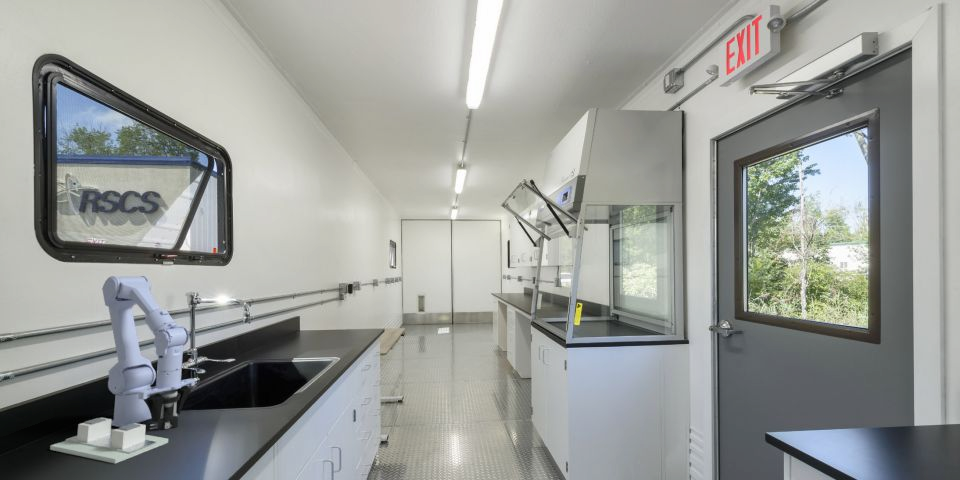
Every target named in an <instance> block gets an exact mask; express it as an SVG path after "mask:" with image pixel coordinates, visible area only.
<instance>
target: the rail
mask: <svg viewBox="0 0 960 480" xmlns="http://www.w3.org/2000/svg"><path fill="white" fill-rule="evenodd" d="M65 441H69V442H74V443H79V444H84V445H89V446H94V447H99V448H104V449H109V450H114V451H119V452H124V453H129V454H130V453H133V452H135V451H138V450H141V449H143V448H146V447H148V446H151V445H154V444H156V442H154V441H149V440H145V441H143V442H140V443H138V444H135V445H132V446H129V447H127V448H124V449H119V448H114V447H111V445H112V434H111V433H110V435H107V436H104V437H101V438H98V439H95V440H92V441H89V442H84V441H79V440H77V435H75V436H72V437H69V438H66V439H65Z"/></svg>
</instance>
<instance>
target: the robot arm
mask: <svg viewBox="0 0 960 480" xmlns="http://www.w3.org/2000/svg"><path fill="white" fill-rule="evenodd" d="M151 289H152V282H151V281H150V280H149V278H148V277H147V276H144V275H139V276H113V275H112V276H111V275H110V276H109V277H107V279H106V280H105V282H104V283H103V285H102V288H101V290H102V295H103V301H104V306H106V307H108V312H109V318H110V322H111V324H110V325H111V328H112V329H111V330H112V334H113V339H114V345H115V349H116V350H115V351H116V356H117V360H118V362H117V363H115V364H114V365H113V366H112V367H111V368H110V369H109V370H108V381H107V388H108V390H109V391H110V392H111V393H112V395H115V396H114V397H115V399H114V409H113V411H114V412H113V419H112V420H111V427H112V426H113V427H118V428H120V427H123V426H126V425H129V424H134V423H137V424H140V423H142V422H145V421H147V420H151V421H152V422H158V421H160V418H161V409H162V405H163V401H164V399H165V397H161V395H162V394H163V393H166V392H170V391H173V390H176V391H177V393H180V394H181V396H180V399H179V400H178V401H177V405H176V414H177V415H178V416H179V415H180V414H181V412H182V409H183V406H184V403H185V401H186V400H187V398H188V396H189V395H190V393H191V390H192V388H191V387H194V386H195V385H196V379H195V378H187V379H186V378H185V379H182V367H183V354H184V346H186V345H187V343H188V342H189V340H190V339H189V338H190V333H189V331H188V329H187V328H186V327H185V326H181V325H180V324H177V323H176V321H175V320H174V319H173V318H172V316H171V315H170V313H169V311H168V310H166V309H165V308H164V309H162V308H160V307H159V305H158V303H157V301H156V300H155V298H154V296H153V294H152V292H151V291H152V290H151ZM135 305H136V306H138V307H139V308H140V310H141V311H143V314H145V315H146V316H145V319H144V323H146V325H147V327H148V328H149V329H150V331H151V333H153V335H154V339H153V345H154V346H155V354H156V356H157V368H156V370H155V368H154V367H153V364H152V361H151V360H150V359H147V358H146V357H144V356H142V355H141V350H140V344H139V340H138V339H139V338H138V334H137V330H136V329H137V328H136V323H135V318H134V314H133V307H134V306H135ZM154 382H156V383H155V386H152V385H153V384H154ZM172 405H173V411H174V403H173V404H172Z"/></svg>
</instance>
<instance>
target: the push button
mask: <svg viewBox="0 0 960 480" xmlns="http://www.w3.org/2000/svg"><path fill="white" fill-rule="evenodd" d="M160 395H161V397H165V399H164V401H163V405H162V409H161V418H160V421H158V422H157V423H152V424H150V425H149V426H150V428H149V430H153V429H154V430H155V429H157V431H160V430H166V429H168V430H169V429H172V428H177V427H178V425H179V415H177V414H176V405H177V401H178V400H179V399H180V396H181V394H180V393H177V391H176V390H173V391H170V392H166V393H163V394H160ZM173 403H174V411H173ZM152 426H153V427H152Z"/></svg>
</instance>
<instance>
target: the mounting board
mask: <svg viewBox="0 0 960 480" xmlns="http://www.w3.org/2000/svg"><path fill="white" fill-rule="evenodd" d="M115 429H116V428H111V432H110V433H111V434H112V432H113V430H115ZM145 440H149V441H154V442H156V444H154V445H151V446H148V447H146V448H143V449H141V450H138V451H135V452H133V453H130V454H129V453H124V452H119V451H114V450H109V449H104V448H99V447H94V446H89V445H84V444H79V443H74V442H69V441H66V440H64V441H61V442H57V443H54V444H51V445H50V446H49V447H50V448H49V450H51V451H54V452H55V451H56V452H60V453H63V454H68V455H74V456H79V457H82V458H87V459H92V460H96V461H101V462H105V463H106V462H107V463H110V464H118V463H120V462H123V461H126V460H127V459H130V458H133V457H135V456H138V455H142V453H145V452H148V451H150V450H153V449H155V448H158V447H161V446H164V445H166V444H168V443H169V438H165V437H161V436H154V435H150V434H149V435H148V434H145Z"/></svg>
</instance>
